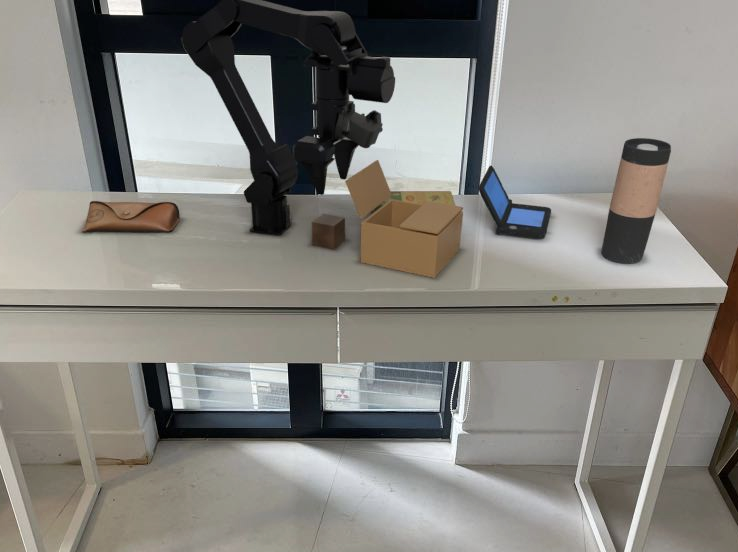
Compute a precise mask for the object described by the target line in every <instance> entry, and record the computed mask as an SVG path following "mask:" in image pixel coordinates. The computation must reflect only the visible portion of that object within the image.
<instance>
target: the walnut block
mask: <svg viewBox="0 0 738 552" xmlns="http://www.w3.org/2000/svg"><path fill="white" fill-rule="evenodd" d="M345 242H346V217H343V216H339V215H338V216H337V215H333V214H328V213H322V214H321V215H319V216H318V217H316V218H315V219H313V220H312V221H311V244H312V246H314V247H318V248H319V247H320V248H324V249H329V250H335V249H338V247H339V246H340V245H342V244H343V243H345Z"/></svg>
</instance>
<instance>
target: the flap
mask: <svg viewBox="0 0 738 552" xmlns="http://www.w3.org/2000/svg"><path fill="white" fill-rule="evenodd" d="M344 182H345V185H346V187H347V189H348V192H349V195H350V197H351V200H352V201H353V205H354V207H355V209H356V211H357V214H358V216H359V219H360V220H361V219H363V218H365V217H366V216H367V215H369V214H370V213H371V212H372V211H373V209H375V208H376V207H377V206H379V205H380V204H381V203H382V202H384V201H385V200H386V199H388V198H389V197H390V196H391V195H392V194H391V192H390V191H391V189H390V187H389V184H388V181H387V179H386V176H385V174H384V171H383V168H382V166H381V164H380V161H379V159H377V160H375V161H373V162H371V163H370V164H369V165H367V166H365V167H364V168H362V169H361V170H359V171H358V172H357V173H355V174H354V175H352V176H350V177H349V178H348V179H347V178H346V179H345V180H344Z"/></svg>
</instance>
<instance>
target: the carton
mask: <svg viewBox="0 0 738 552" xmlns="http://www.w3.org/2000/svg"><path fill="white" fill-rule="evenodd" d="M390 192H391V194H392V195H391V196H390V197H389V198H388V199H386V200H385V201H384V202H382V203H381V204H380V205H379V206H377V207H376V208H375V209H373V210H372V211H373V212H372V214H373V213H374V212H375V211H377V210H378V209H379V208H381V207H382V206H383V205H384V204H386V203H387V202H388V201H389V200H391V199H394V200H400V201H406V202H411V203H417V204H424V203H425V202H427V201H430V202H436V203H442V204H448V205H454V206H456V203H455V199H454V196H453V192H452V191H450V190H390Z"/></svg>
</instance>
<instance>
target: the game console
mask: <svg viewBox="0 0 738 552" xmlns="http://www.w3.org/2000/svg"><path fill="white" fill-rule="evenodd" d="M478 192H479V194H480V197H481V198H482V200H483V202H484V205H485V206H486V208H487V210H488V212H489V214H490V216H491V217H492V219H493V222H494V224H495V225H496V229H495V234H496V235H503V236H510V237H518V238H527V239H534V240H542V239H544V238H545V237H546V235H547V231H548V227H549V224H550V219H551V215H552V209H551V207H548V206H541V205H533V204H532V205H531V204H523V203H514V202H513V199H511V198H509V195H508V194H507V192H506V190H505V188H504V186H503V183H502V181H501V179H500V178H499V176H498V174H497V172H496V168H494V166H492V165H489V166H488V168H487V170H486V172H485V174H484V175H483V177H482V179H481V182H480V183H479V185H478Z"/></svg>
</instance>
